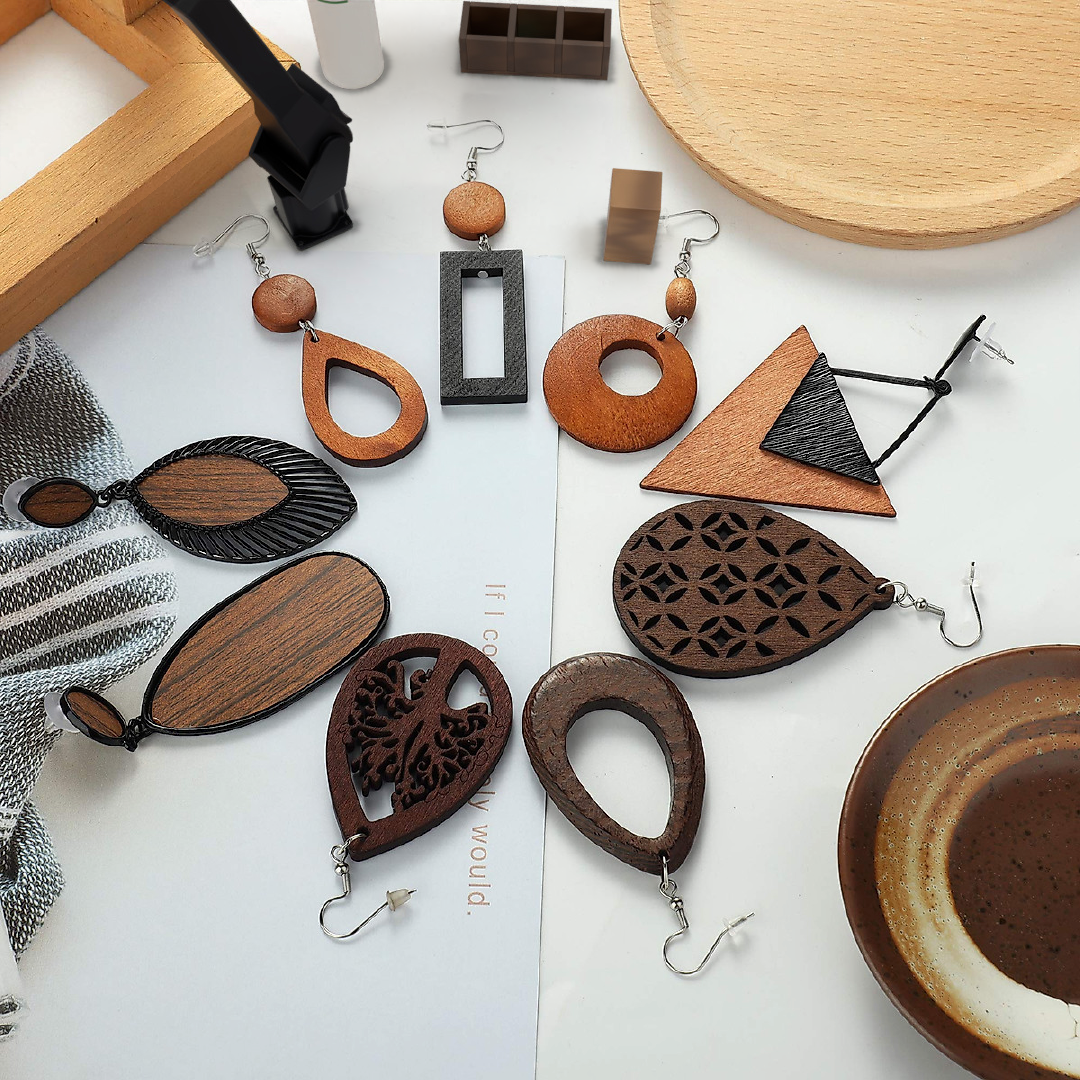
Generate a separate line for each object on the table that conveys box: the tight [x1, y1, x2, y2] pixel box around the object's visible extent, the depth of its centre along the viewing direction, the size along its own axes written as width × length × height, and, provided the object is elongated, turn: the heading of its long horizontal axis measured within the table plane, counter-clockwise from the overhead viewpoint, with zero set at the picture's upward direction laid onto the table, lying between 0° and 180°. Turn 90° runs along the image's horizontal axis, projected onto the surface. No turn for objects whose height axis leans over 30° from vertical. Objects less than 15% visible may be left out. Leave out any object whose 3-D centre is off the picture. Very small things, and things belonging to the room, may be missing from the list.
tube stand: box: [603, 167, 663, 265], centre depth 99 cm, size 5×5×8 cm
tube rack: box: [458, 0, 613, 81], centre depth 112 cm, size 17×6×4 cm, turn 87°
